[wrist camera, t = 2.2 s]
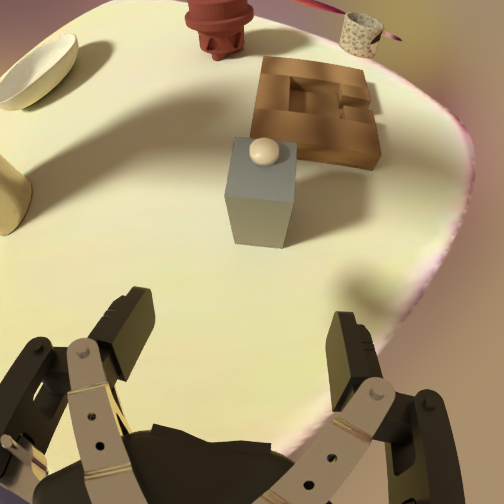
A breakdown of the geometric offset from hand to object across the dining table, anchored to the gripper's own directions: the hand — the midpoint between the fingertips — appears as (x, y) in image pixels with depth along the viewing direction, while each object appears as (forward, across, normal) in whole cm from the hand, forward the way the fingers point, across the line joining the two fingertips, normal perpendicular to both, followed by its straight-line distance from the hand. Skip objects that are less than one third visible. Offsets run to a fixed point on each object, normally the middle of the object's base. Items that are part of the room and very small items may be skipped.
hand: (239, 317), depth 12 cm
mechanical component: (+38, +9, -19) cm, 43 cm away
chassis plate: (+28, -5, -9) cm, 30 cm away
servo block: (+17, 0, +2) cm, 17 cm away
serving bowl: (+37, +47, -17) cm, 62 cm away
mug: (+44, -14, -24) cm, 52 cm away
